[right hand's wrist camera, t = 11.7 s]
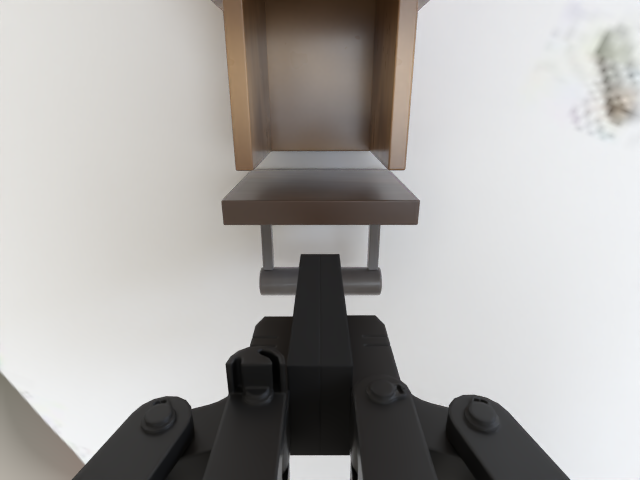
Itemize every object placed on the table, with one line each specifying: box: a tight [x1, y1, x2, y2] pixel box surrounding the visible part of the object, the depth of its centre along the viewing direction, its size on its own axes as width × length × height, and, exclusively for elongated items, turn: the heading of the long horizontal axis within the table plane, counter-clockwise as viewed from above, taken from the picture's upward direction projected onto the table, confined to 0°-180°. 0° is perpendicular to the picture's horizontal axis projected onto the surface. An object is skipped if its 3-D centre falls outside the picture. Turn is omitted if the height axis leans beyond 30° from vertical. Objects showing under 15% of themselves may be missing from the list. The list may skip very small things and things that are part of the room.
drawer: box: [221, 0, 420, 295], centre depth 20 cm, size 23×9×8 cm, turn 0°
